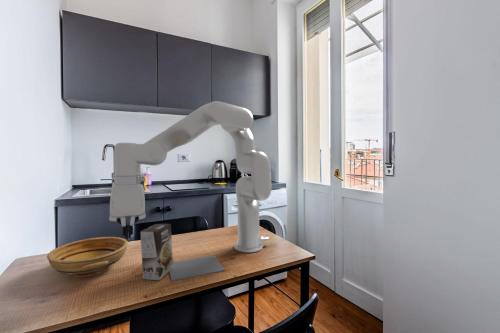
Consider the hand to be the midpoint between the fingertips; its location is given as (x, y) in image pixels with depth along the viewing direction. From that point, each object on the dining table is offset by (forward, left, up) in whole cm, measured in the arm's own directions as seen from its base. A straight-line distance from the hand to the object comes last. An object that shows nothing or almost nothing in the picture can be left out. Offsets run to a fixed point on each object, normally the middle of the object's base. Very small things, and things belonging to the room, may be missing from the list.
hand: (128, 237), depth 81 cm
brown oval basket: (+13, -14, -14) cm, 24 cm away
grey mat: (-22, 0, -14) cm, 26 cm away
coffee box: (-9, 0, -14) cm, 17 cm away
